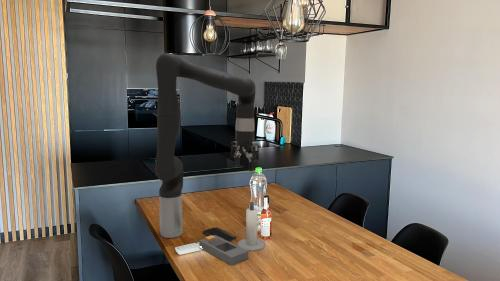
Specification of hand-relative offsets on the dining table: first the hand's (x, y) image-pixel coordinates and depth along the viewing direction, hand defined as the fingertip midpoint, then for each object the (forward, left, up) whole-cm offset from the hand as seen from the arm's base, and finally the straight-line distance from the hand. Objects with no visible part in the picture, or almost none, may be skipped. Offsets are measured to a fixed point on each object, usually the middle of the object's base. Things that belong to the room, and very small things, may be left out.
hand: (244, 168), depth 160 cm
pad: (+7, -2, -30) cm, 31 cm away
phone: (-9, -6, -30) cm, 32 cm away
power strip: (+5, -15, -30) cm, 34 cm away
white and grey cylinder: (+7, -2, -29) cm, 30 cm away
